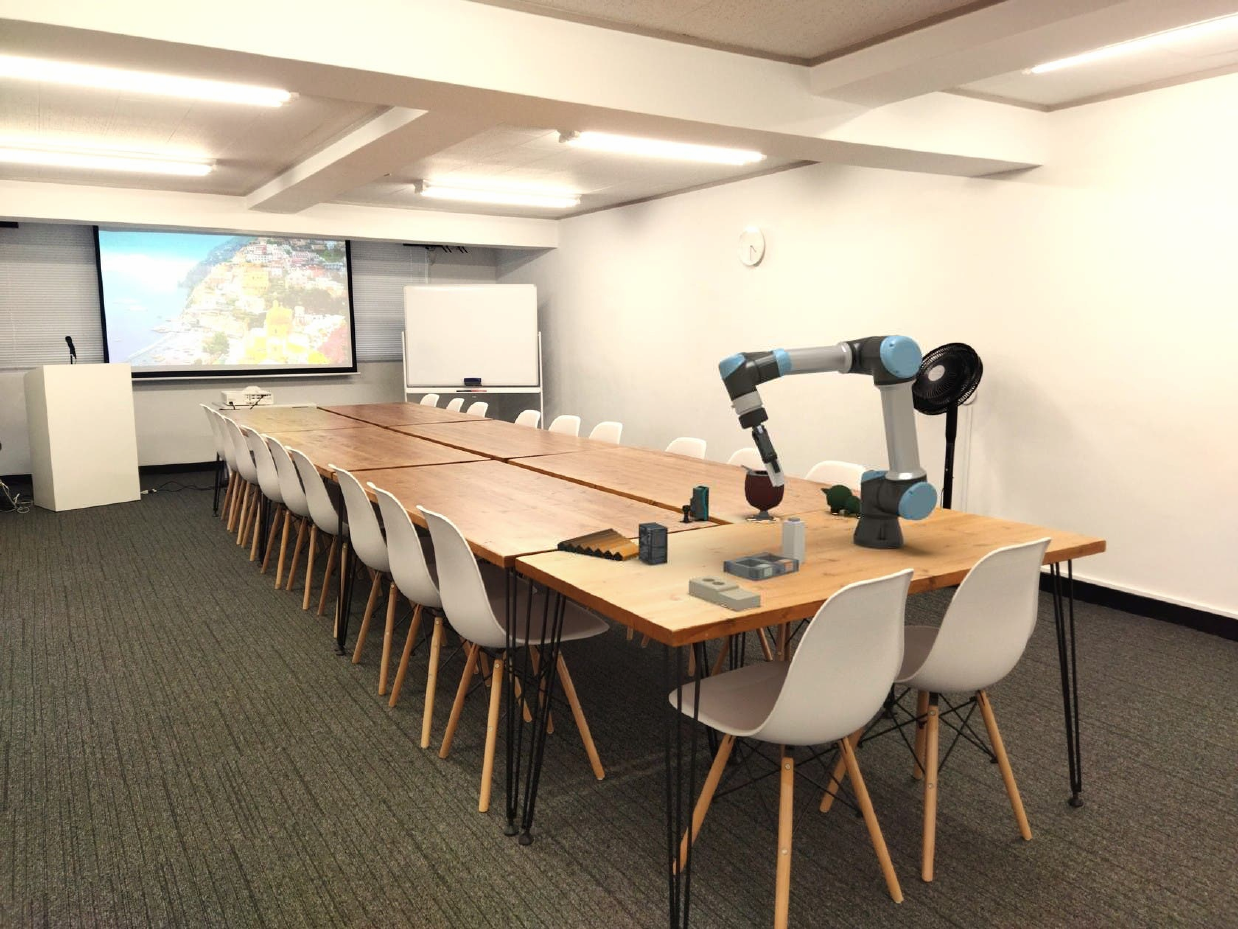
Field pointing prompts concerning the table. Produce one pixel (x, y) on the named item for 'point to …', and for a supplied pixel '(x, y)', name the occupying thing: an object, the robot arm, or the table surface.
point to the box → (653, 543)
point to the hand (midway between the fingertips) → (780, 484)
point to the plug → (793, 539)
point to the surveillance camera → (697, 505)
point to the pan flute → (602, 545)
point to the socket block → (761, 566)
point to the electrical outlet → (723, 593)
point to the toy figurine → (842, 500)
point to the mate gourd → (762, 493)
